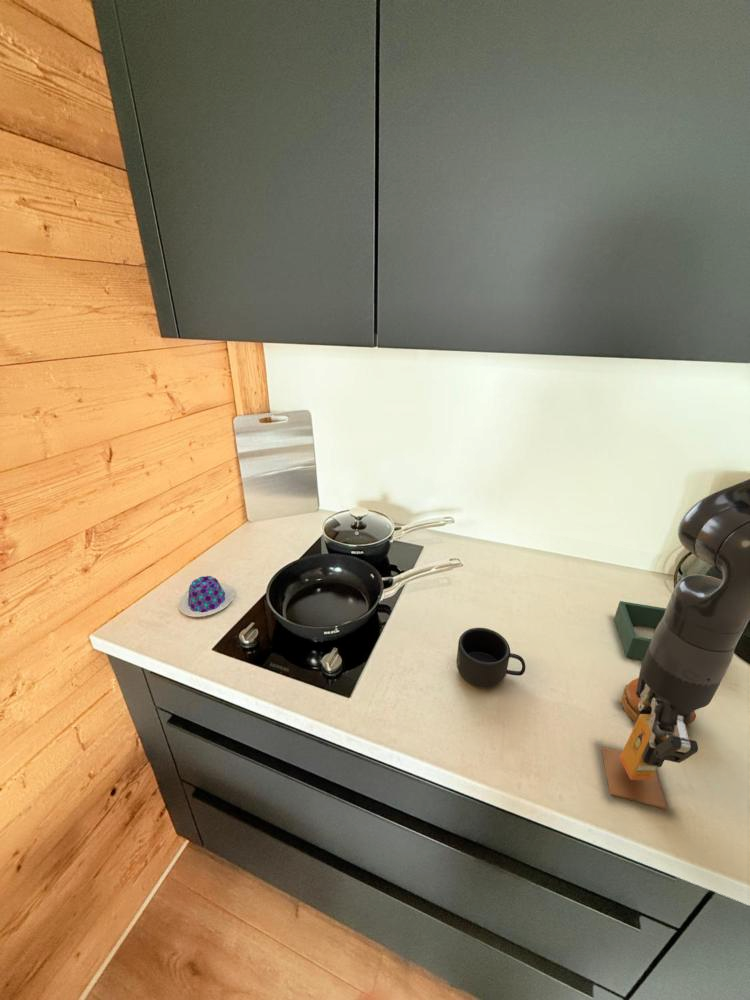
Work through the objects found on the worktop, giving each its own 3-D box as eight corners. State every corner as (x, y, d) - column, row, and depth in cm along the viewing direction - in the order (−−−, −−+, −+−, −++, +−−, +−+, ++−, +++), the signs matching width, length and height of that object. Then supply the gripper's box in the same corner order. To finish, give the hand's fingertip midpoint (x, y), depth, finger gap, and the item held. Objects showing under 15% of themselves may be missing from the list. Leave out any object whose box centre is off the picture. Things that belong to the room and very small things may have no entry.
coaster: (651, 760, 64) (652, 758, 64) (666, 809, 58) (667, 808, 58) (601, 748, 66) (601, 746, 65) (610, 794, 60) (611, 793, 59)
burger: (616, 717, 70) (624, 698, 68) (625, 680, 77) (632, 662, 75) (687, 752, 65) (698, 732, 63) (690, 709, 72) (700, 690, 70)
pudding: (205, 580, 104) (200, 562, 102) (245, 591, 100) (242, 573, 98) (167, 611, 94) (161, 592, 92) (210, 625, 90) (205, 606, 88)
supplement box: (654, 781, 59) (676, 736, 55) (629, 780, 60) (650, 736, 55) (641, 757, 62) (661, 713, 58) (617, 757, 62) (636, 713, 58)
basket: (682, 630, 88) (690, 612, 86) (703, 672, 79) (712, 652, 76) (613, 619, 91) (619, 600, 89) (625, 657, 82) (632, 638, 79)
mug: (451, 685, 76) (454, 657, 73) (459, 649, 84) (462, 622, 80) (521, 704, 73) (527, 675, 69) (522, 665, 80) (528, 637, 77)
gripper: (751, 716, 44) (696, 809, 52) (699, 622, 56) (660, 709, 64) (670, 699, 46) (628, 791, 53) (636, 612, 58) (606, 697, 66)
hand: (646, 746), depth 59 cm, fingers closed on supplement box, 4 cm apart
